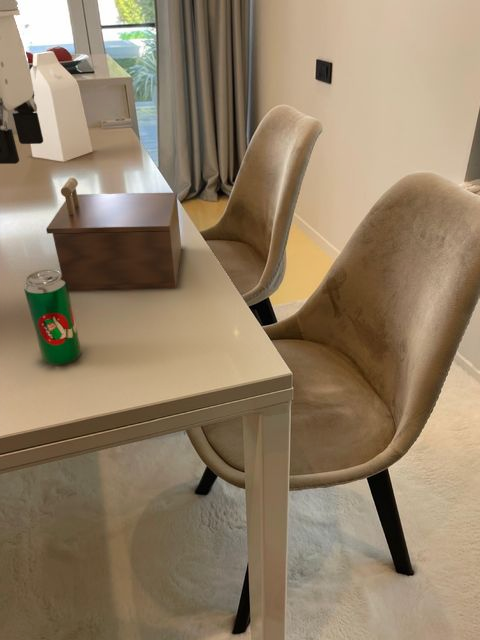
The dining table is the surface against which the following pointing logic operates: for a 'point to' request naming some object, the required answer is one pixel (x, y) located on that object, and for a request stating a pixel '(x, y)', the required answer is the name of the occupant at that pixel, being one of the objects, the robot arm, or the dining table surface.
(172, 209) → the lid
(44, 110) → the milk
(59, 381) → the dining table surface
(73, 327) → the soda can
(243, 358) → the dining table surface
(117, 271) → the brown wooden box
